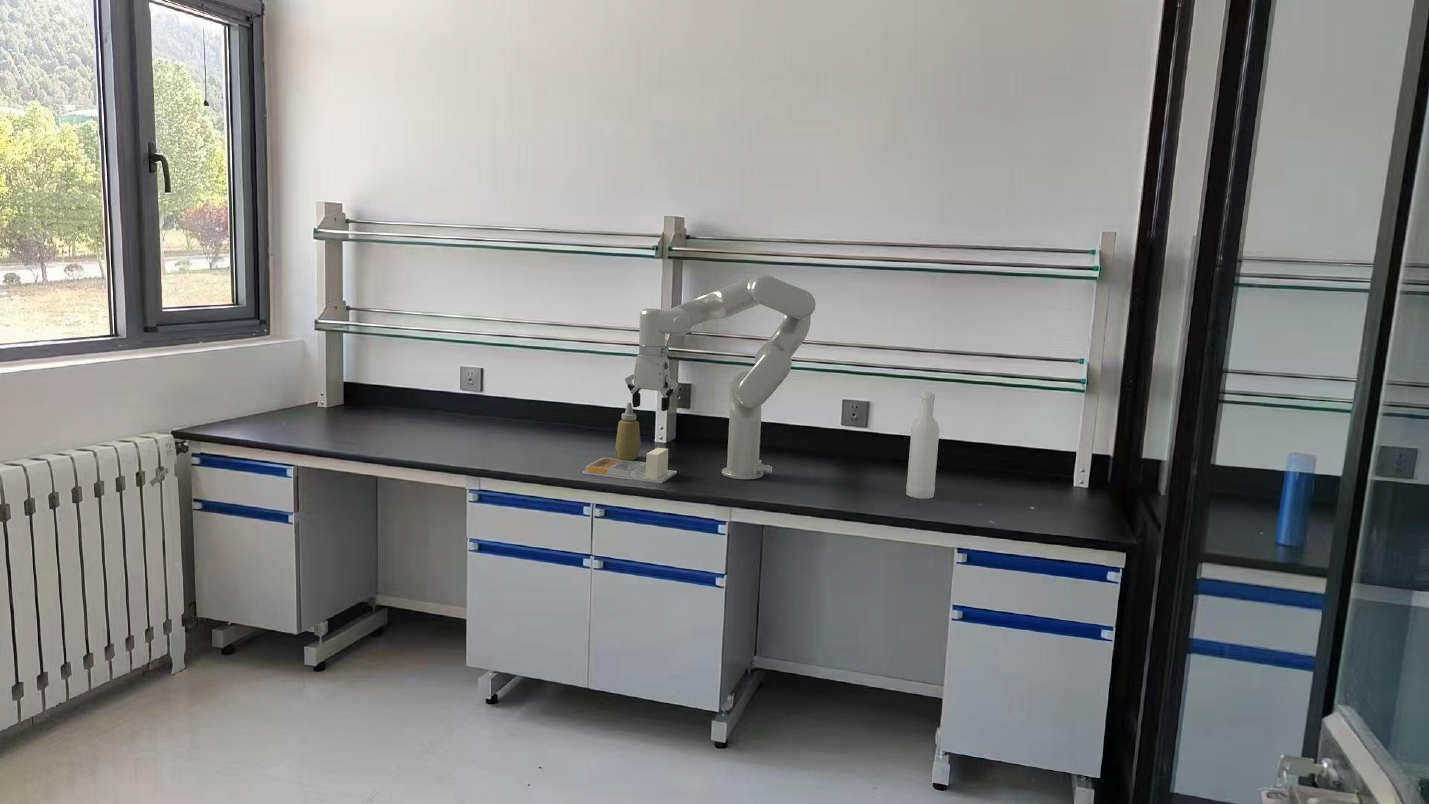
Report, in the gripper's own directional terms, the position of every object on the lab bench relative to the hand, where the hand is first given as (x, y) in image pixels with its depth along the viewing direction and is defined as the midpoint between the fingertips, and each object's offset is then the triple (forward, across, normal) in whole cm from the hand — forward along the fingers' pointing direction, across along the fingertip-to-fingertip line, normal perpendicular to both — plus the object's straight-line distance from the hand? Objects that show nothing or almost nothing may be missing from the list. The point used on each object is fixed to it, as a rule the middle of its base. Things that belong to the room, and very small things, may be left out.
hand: (650, 408), depth 283 cm
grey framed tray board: (+20, +5, +3) cm, 21 cm away
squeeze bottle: (+20, +16, -13) cm, 29 cm away
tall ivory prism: (+19, -4, +2) cm, 20 cm away
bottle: (+21, -76, -24) cm, 82 cm away
